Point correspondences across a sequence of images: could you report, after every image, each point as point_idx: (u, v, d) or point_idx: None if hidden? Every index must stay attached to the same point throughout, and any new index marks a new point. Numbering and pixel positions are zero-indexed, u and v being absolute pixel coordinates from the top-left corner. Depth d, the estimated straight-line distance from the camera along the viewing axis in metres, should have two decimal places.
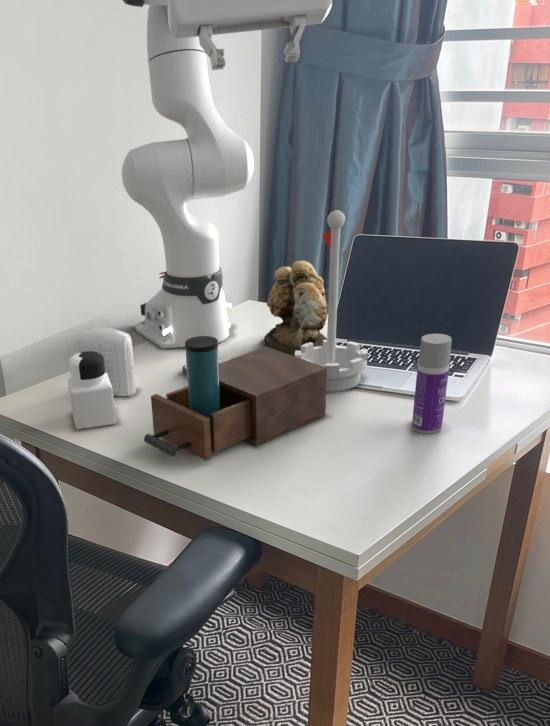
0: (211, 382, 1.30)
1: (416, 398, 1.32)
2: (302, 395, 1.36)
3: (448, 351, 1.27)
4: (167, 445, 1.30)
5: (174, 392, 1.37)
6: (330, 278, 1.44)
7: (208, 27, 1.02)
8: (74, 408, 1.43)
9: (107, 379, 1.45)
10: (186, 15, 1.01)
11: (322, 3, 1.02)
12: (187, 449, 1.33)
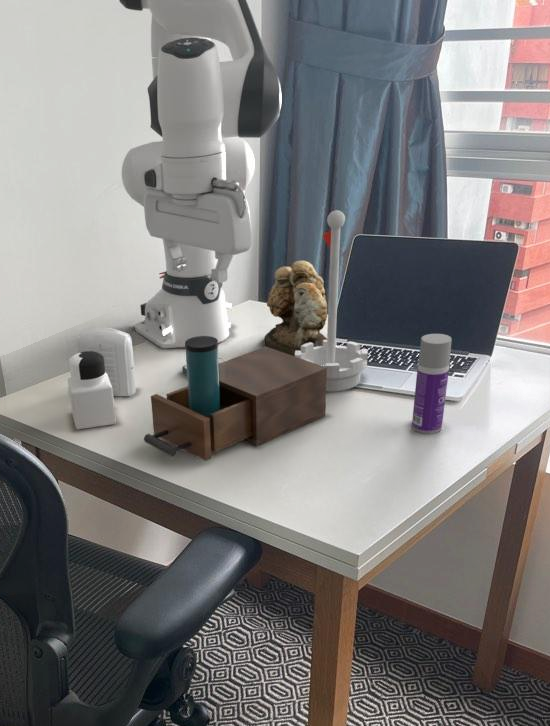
0: (211, 382, 1.30)
1: (416, 398, 1.32)
2: (302, 395, 1.36)
3: (448, 351, 1.27)
4: (167, 445, 1.30)
5: (174, 392, 1.37)
6: (330, 278, 1.44)
7: (168, 241, 1.24)
8: (74, 408, 1.43)
9: (107, 379, 1.45)
10: (152, 230, 1.25)
11: (226, 249, 1.13)
12: (187, 449, 1.33)
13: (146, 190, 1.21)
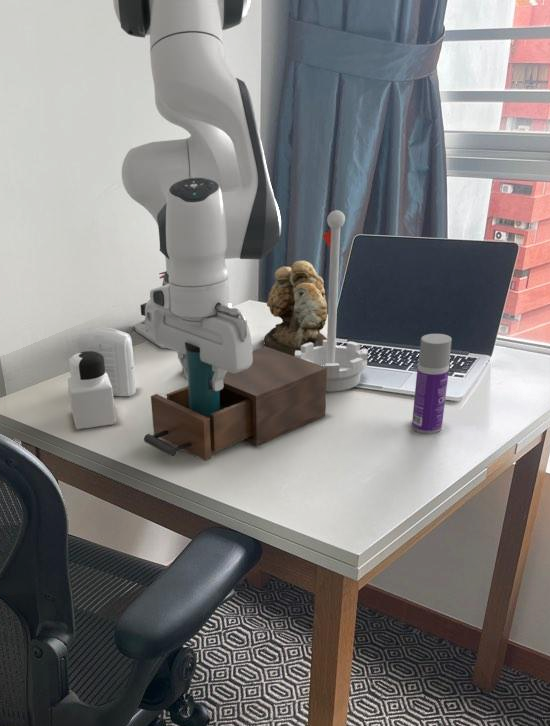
0: None
1: (416, 398, 1.32)
2: (302, 395, 1.36)
3: (448, 351, 1.27)
4: (167, 445, 1.30)
5: (174, 392, 1.37)
6: (330, 278, 1.44)
7: (181, 353, 1.32)
8: (74, 408, 1.43)
9: (107, 379, 1.45)
10: (160, 340, 1.34)
11: (229, 368, 1.23)
12: (187, 449, 1.33)
13: (154, 306, 1.31)
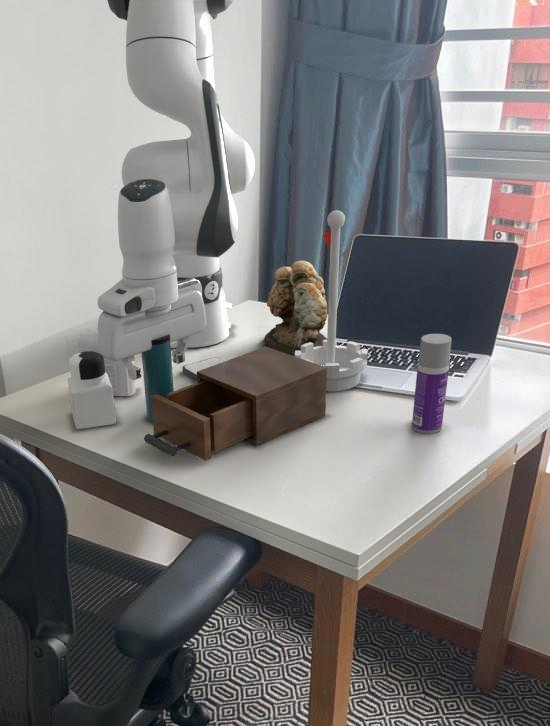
0: None
1: (416, 398, 1.32)
2: (302, 395, 1.36)
3: (448, 351, 1.27)
4: (167, 445, 1.30)
5: (174, 392, 1.37)
6: (330, 278, 1.44)
7: (131, 356, 1.37)
8: (74, 408, 1.43)
9: (107, 379, 1.45)
10: (120, 355, 1.34)
11: (201, 328, 1.42)
12: (187, 449, 1.33)
13: (120, 320, 1.31)
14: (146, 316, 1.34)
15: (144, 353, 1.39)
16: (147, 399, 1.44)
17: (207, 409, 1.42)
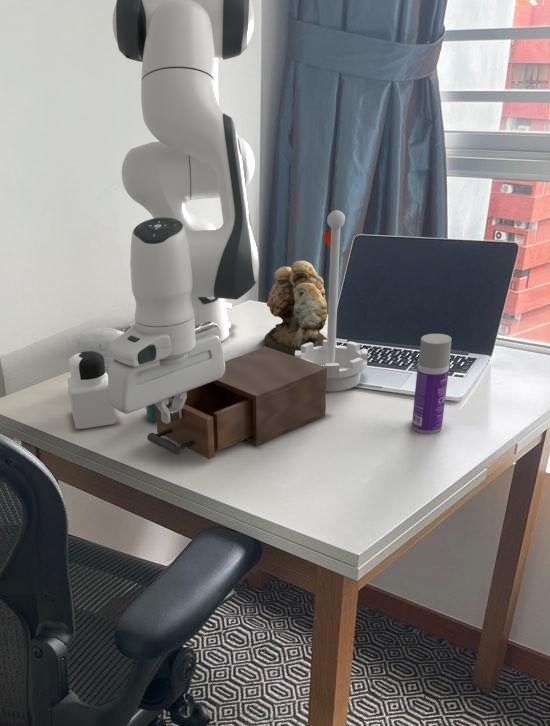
0: None
1: (416, 398, 1.32)
2: (302, 395, 1.36)
3: (448, 351, 1.27)
4: (170, 444, 1.31)
5: None
6: (330, 278, 1.44)
7: (166, 399, 1.28)
8: (74, 408, 1.43)
9: (107, 379, 1.45)
10: (132, 406, 1.24)
11: (219, 375, 1.31)
12: (190, 448, 1.33)
13: (132, 370, 1.20)
14: (161, 365, 1.24)
15: None
16: None
17: (210, 408, 1.43)
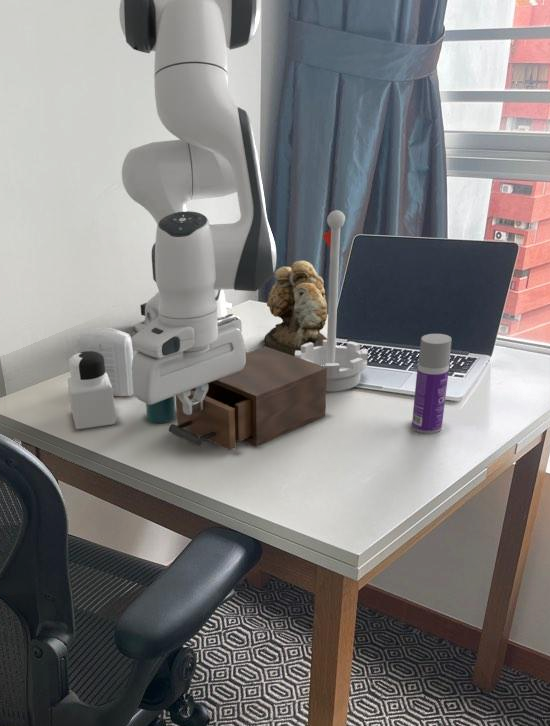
0: None
1: (416, 398, 1.32)
2: (302, 395, 1.36)
3: (448, 351, 1.27)
4: (192, 435, 1.33)
5: None
6: (330, 278, 1.44)
7: (188, 390, 1.30)
8: (74, 408, 1.43)
9: (107, 379, 1.45)
10: (156, 398, 1.26)
11: (240, 367, 1.33)
12: (211, 439, 1.35)
13: (157, 361, 1.22)
14: (184, 356, 1.26)
15: None
16: None
17: (229, 400, 1.45)
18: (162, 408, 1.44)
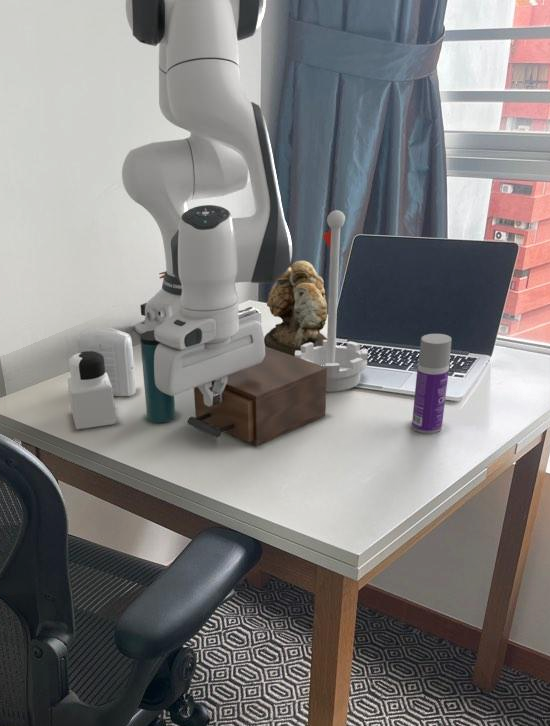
0: None
1: (416, 398, 1.32)
2: (302, 395, 1.36)
3: (448, 351, 1.27)
4: (211, 427, 1.34)
5: None
6: (330, 278, 1.44)
7: (209, 382, 1.32)
8: (74, 408, 1.43)
9: (107, 379, 1.45)
10: (177, 389, 1.27)
11: (260, 359, 1.35)
12: (230, 431, 1.37)
13: (179, 353, 1.24)
14: (205, 348, 1.27)
15: (144, 353, 1.39)
16: (147, 399, 1.44)
17: None
18: (162, 408, 1.44)
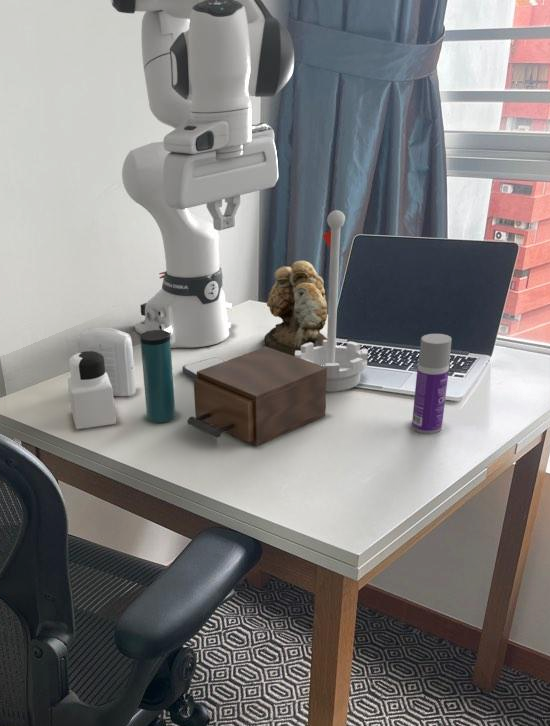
0: None
1: (416, 398, 1.32)
2: (302, 395, 1.36)
3: (448, 351, 1.27)
4: (211, 427, 1.34)
5: None
6: (330, 278, 1.44)
7: (219, 201, 1.26)
8: (74, 408, 1.43)
9: (107, 379, 1.45)
10: (188, 201, 1.22)
11: (273, 182, 1.30)
12: (230, 431, 1.37)
13: (190, 158, 1.18)
14: (216, 159, 1.22)
15: (144, 353, 1.39)
16: (147, 399, 1.44)
17: None
18: (162, 408, 1.44)
